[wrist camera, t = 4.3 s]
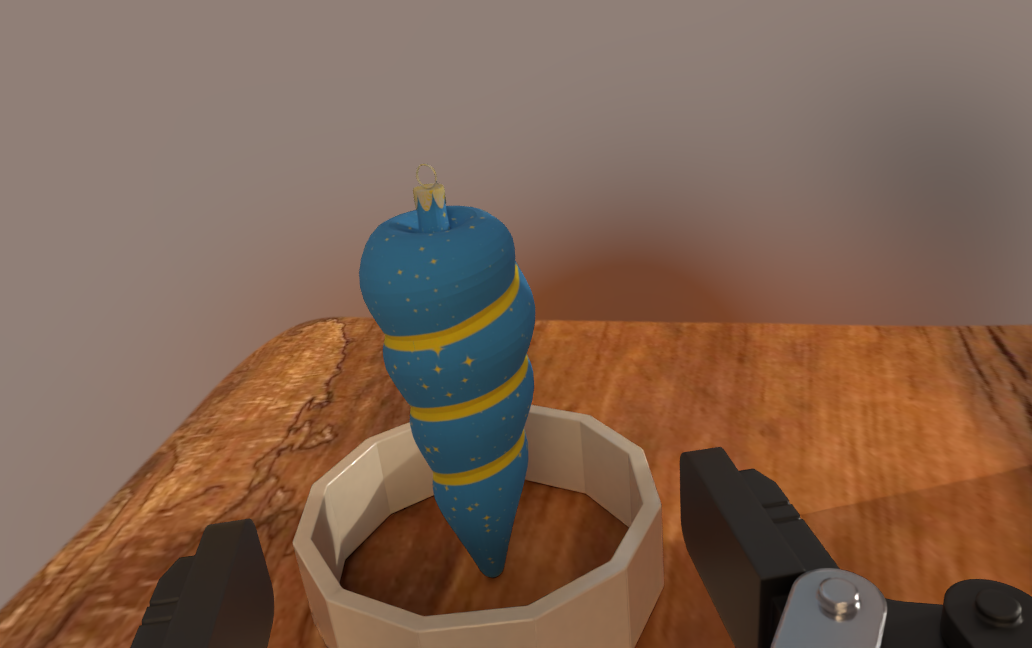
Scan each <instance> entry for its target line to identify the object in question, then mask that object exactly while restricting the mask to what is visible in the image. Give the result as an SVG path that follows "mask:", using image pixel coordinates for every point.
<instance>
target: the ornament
mask: <svg viewBox="0 0 1032 648" xmlns="http://www.w3.org/2000/svg"><path fill="white" fill-rule="evenodd" d="M422 165H426V166H428V167H429V168H431V169H432V170H433V172H434V175H435V183H434V184H424V185H423V184H422V183H421V182H420V180H419V178H418V170H419V167H420V166H422ZM420 166H419V167H418V168H417V171H416V177H417V180H418V182H419V184H420V185H421V186H418V187H415V188H414V189H413V194H414V200H415V206H416V210H414V211H410V212H407V213H403V214H400V215H398V216H395V217H393V218H391V219H389V220H387V221H385V222H384V223H382V224H380V225H379V226H378V227H377V228H376V230H375V231H374V232H373V233H372V234H371V235H370V238H369V240H368V241H367V243H366V245H365V248H364V252H363V254H362V258H361V264H360V271H359V277H360V288H361V292H362V295H363V299H364V301H365V303H366V305H367V307H368V309H369V311H370V313H371V314H372V316H373V318H374V319H375V321H376V322H377V324H378V325H379V326H380V328H381V329H382V331H383V332H384V334H385V340H384V346H383V357H384V362H385V366H386V369H387V371H388V373H389V375H390V377H391V379H392V380H393V382H394V384H395V385H396V387H397V388H398V390H399V391H400V393H401V394H402V395H403V397H404V398H405V400H406V401H407V402H408V404H409V405H410V406H411V411H410V427H411V431H412V435H413V438H414V440H415V443H416V445H417V447H418V448H419V450H420V452H421V454H422V455H423V457H424V458H425V460H426V462H427V463H428V465H429V467H430V468H431V470H432V471H433V484H432V485H433V492H434V497H435V500H436V502H437V504H438V507H439V509H440V510H441V512H442V514H443V516H444V517H445V519H446V520H447V522H448V523H449V525H450V526H451V528H452V529H453V531H454V532H455V533H456V535H457V536H458V538H459V539H460V541H461V542H462V544H463V545H464V546H465V548H466V549H467V551H468V552H469V554H470V555H471V557H472V558H473V560H474V561H475V563H476V564H477V566H478V568H479V569H480V571H481V572H482V573H483V574H484V575H486V576H488V577H497V576H499V575H500V574H501V573H502V571H503V569H504V565H505V560H506V555H507V550H508V545H509V540H510V536H511V532H512V527H513V523H514V518H515V515H516V511H517V507H518V504H519V500H520V496H521V493H522V490H523V485H524V481H525V476H526V472H527V467H528V460H529V458H528V441H527V437H526V433H525V430H524V426H525V423H526V420H527V417H528V414H529V411H530V407H531V403H532V399H533V391H534V378H533V370H532V366H531V363H530V360H529V358H528V356H527V351H528V348H529V345H530V342H531V338H532V334H533V329H534V324H535V304H534V299H533V295H532V292H531V289H530V287H529V285H528V284H527V281H526V279H525V277H524V275H523V274H522V272H521V270H520V268H519V266H518V265H517V263H516V261H515V248H514V243H513V238H512V236H511V234H510V232H509V231H508V229H507V227H505V225H504V224H503V223H502V222H501V221H499V220H498V219H497V218H495V217H494V216H492V215H491V214H489V213H488V212H486V211H484V210H481V209H477V208H473V207H465V206H446V205H445V204H446V198H445V191H444V186H443V185H442V184H438V183H437V175H436V172H435V170H434V169H433V168H432V167H431V166H430V165H428V164H421V165H420Z"/></svg>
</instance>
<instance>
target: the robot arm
mask: <svg viewBox="0 0 1032 648" xmlns="http://www.w3.org/2000/svg"><path fill="white" fill-rule="evenodd" d="M680 503H681V526H682V532H683V537H684V541H685V544H686V547H687V550H688V552H689V555H690V557H691V559H692V561H693V563H694V565H695V567H696V569H697V571H698V573H699V575H700V577H701V579H702V581H703V583H704V585H705V587H706V589H707V591H708V593H709V595H710V597H711V599H712V601H713V603H714V605H715V607H716V609H717V611H718V613H719V615H720V617H721V619H722V621H723V623H724V625H725V627H726V629H727V631H728V633H729V635H730V637H731V639H732V641H733V643H734V645H735V648H1032V597H1031V596H1030V595H1028V594H1026V593H1025V592H1023V591H1021V590H1019V589H1017V588H1015V587H1013V586H1010V585H1007V584H1004V583H1001V582H997V581H992V580H985V579H969V580H964V581H960V582H958V583H955V584H954V585H952V586H951V587H950V588H949V589H948V590H947V591H946V593H945V596H944V602H943V605H939V604H926V603H914V602H902V601H895V600H890V599H886V598H884V596H883V594H882V593H881V591H880V590H879V589H878V588H877V587H876V586H875V585H874V584H872V583H871V582H870V581H868V580H867V579H865V578H863V577H862V576H859V575H857V574H855V573H852V572H849V571H845V570H840V569H839V567H838V566H837V564H836V563H835V562H834V560H833V559H832V558H831V556H830V555H829V554H828V552H827V551H826V550H825V548H824V547H823V546H822V544H821V543H820V542H819V540H818V539H817V538H816V536H815V535H814V533H813V532H812V531H811V529H810V528H809V527H808V525H807V524H806V523H805V521H804V520H803V519H801V518H800V515H799V513H798V512H797V511H796V509H795V508H794V507H793V505H792V504H790V503H789V500H788V498H787V497H786V496H785V494H784V493H783V492H782V490H781V489H780V488H779V486H778V485H777V484H776V482H774V481H772V480H771V479H769V478H768V477H766V476H764V475H763V474H761V473H760V472H758V471H757V470H755V469H748V470H741V471H738V469H737V468H736V467H735V465H734V464H733V462H732V461H731V459H730V458H729V456H728V455H727V453H726V452H725V451H724V449H723V448H722V447H716V448H709V449H703V450H696V451H690V452H684V453H682V454H681V457H680ZM273 617H274V595H273V588H272V584H271V580H270V576H269V573H268V569H267V566H266V562H265V559H264V555H263V552H262V548H261V545H260V541H259V537H258V534H257V530H256V527H255V525H254V523H253V521H252V520H251V519H244V520H237V521H231V522H224V523H218V524H211V525H208V526H207V527H206V528H205V531H204V533H203V536H202V538H201V541H200V544H199V546H198V549H197V552H196V554H195V555H194V556H188V557H181V558H179V559H178V560H177V561H176V562H175V563H174V564H173V565H172V566H171V567H170V568H169V569H168V571H167V572H166V573H165V574H164V575H163V576H162V577H161V578H160V579H159V581H158V583H157V586H156V588H155V590H154V593H153V595H152V598H151V600H150V607H147V609H146V612H145V614H144V616H143V619H142V625H141V626H139V628H138V631H137V633H136V635H135V638H134V640H133V643H132V645H131V647H130V648H267V646H268V642H269V637H270V632H271V628H272V623H273Z"/></svg>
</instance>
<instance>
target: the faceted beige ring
mask: <svg viewBox="0 0 1032 648" xmlns="http://www.w3.org/2000/svg"><path fill="white" fill-rule="evenodd" d="M524 430H525V433H526V437H527V441H528V458H529V460H528V467H527V472H526V476H525V480H528V481H532V482H537V483H541V484H545V485H550V486H554V487H559V488H563V489H568V490H572V491H576V492H581V493H585V494H587V495H588V496H589V497H591V498H592V499H593V500H594V501H596V502H597V503H598V504H600V505H601V506H602V507H603V508H605V509H606V510H607V511H609V512H610V513H611V514H612V515H614V516H615V517H616V518H617V519H619V520H620V521H621V522H623V523H624V524H625V525H626V526H628V527H629V529H628V531H627V533H626V534H625V536H624V538H623V539H622V541H621V543H620V545H619V546H618V548H617V550H616V551H615V553H614V555H613V557H612V558H611V560H610V561H608V562H607V563H605V564H603V565H601V566H599V567H597V568H596V569H594V570H592V571H590V572H588V573H586V574H585V575H583V576H581V577H579V578H577V579H575V580H574V581H572V582H570V583H568V584H566V585H564V586H562V587H561V588H559V589H557V590H555V591H553V592H551V593H550V594H548V595H546V596H544V597H542V598H540V599H539V600H537V601H535V602H533V603H531V604H529V605H527V606H517V607H508V608H498V609H489V610H479V611H470V612H460V613H451V614H441V615H431V616H422V615H419V614H416V613H413V612H410V611H407V610H404V609H401V608H398V607H395V606H392V605H389V604H386V603H383V602H380V601H377V600H374V599H371V598H369V597H366V596H363V595H360V594H357V593H354V592H351V591H348V590H345V589H343V588H342V587H341V585H340V584H339V583H340V579H341V574H342V570H343V566H344V562H345V559H346V558H347V557H348V556H349V555H350V554H351V553H352V552H353V551H354V550H355V549H356V548H357V547H358V546H359V545H360V544H361V543H362V542H363V541H364V540H365V539H366V538H367V537H368V536H369V535H370V534H371V533H372V532H373V531H374V530H375V529H376V528H377V527H378V526H379V525H380V524H381V523H382V522H383V521H384V520H385V519H386V518H387V517H388V516H389V515H390V514H392V513H395V512H397V511H399V510H401V509H404V508H406V507H408V506H410V505H413V504H415V503H417V502H419V501H422V500H424V499H426V498H429V497H431V496H433V495H434V492H433V485H432V484H433V471H432V470H431V468H430V467H429V465H428V463H427V462H426V460H425V458H424V457H423V455H422V454H421V452H420V450H419V448H418V447H417V445H416V443H415V440H414V438H413V435H412V431H411V427H410V422H409V423H406V424H404V425H401V426H398V427H396V428H393V429H391V430H388V431H386V432H383V433H380V434H378V435H375V436H373V437H370V438H368V439H366V440H365V441H364V442H362V443H361V444H360V445H359V446H358V447H356V448H355V449H354V450H353V451H352V452H351V453H349V454H348V455H347V456H346V457H345V458H343V459H342V460H341V461H340V462H339V463H337V464H336V465H335V466H334V467H333V468H332V469H330V470H329V471H328V472H327V473H326V474H324V475H323V476H322V477H321V478H320V479H318V480H317V481H316V482H315V483H314V484H313V485H312V487H311V490H310V493H309V496H308V499H307V502H306V505H305V508H304V511H303V514H302V517H301V520H300V523H299V525H298V528H297V531H296V534H295V537H294V540H293V547H294V551H295V555H296V558H297V562H298V566H299V569H300V573H301V577H302V581H303V584H304V588H305V592H306V595H307V599H308V603H309V607H310V610H311V614H312V618H313V621H314V624H315V626H316V628H317V629H318V631H319V633H320V635H321V637H322V638H323V640H324V642H325V644H326V646H327V648H635V646H636V643H637V641H638V639H639V637H640V635H641V633H642V631H643V629H644V627H645V625H646V623H647V620H648V618H649V616H650V614H651V612H652V610H653V608H654V606H655V604H656V602H657V600H658V597H659V595H660V593H661V591H662V589H663V587H664V561H663V530H662V504H661V501H660V498H659V495H658V492H657V489H656V486H655V483H654V480H653V477H652V474H651V471H650V468H649V465H648V462H647V459H646V456H645V453H644V451H643V449H642V448H640V447H639V446H637V445H636V444H634V443H632V442H631V441H629V440H628V439H626V438H625V437H623V436H621V435H620V434H618V433H617V432H615V431H614V430H612V429H611V428H609V427H607V426H606V425H604V424H603V423H601V422H600V421H598V420H597V419H595V418H593V417H592V416H590V415H586V414H581V413H575V412H569V411H564V410H558V409H552V408H547V407H541V406H535V405H531V407H530V411H529V414H528V417H527V420H526V423H525V426H524Z"/></svg>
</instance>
